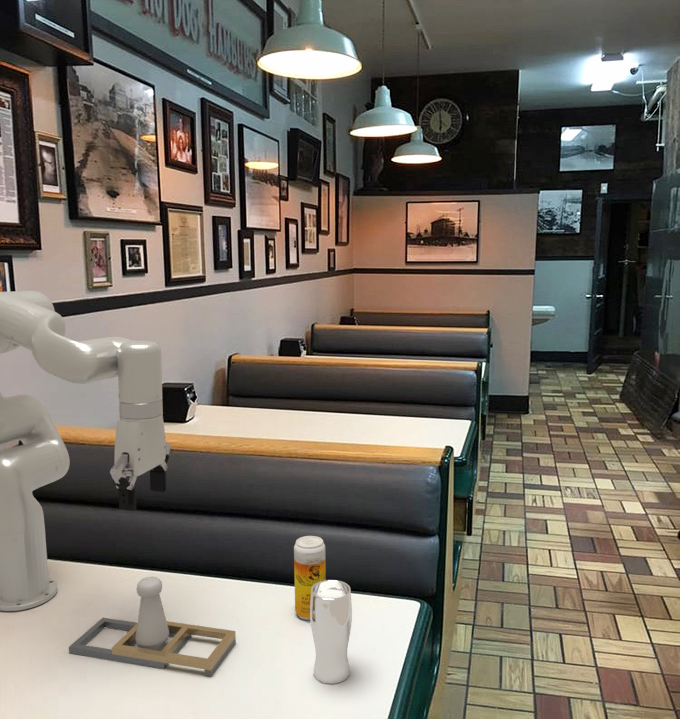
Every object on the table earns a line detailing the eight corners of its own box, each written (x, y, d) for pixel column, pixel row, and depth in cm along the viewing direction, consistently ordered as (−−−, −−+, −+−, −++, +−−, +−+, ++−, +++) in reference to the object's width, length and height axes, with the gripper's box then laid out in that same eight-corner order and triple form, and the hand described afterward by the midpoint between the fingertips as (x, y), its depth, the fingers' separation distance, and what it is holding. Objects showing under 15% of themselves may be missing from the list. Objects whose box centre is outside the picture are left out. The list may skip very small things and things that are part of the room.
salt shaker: (174, 639, 118) (171, 573, 116) (163, 658, 113) (159, 588, 111) (143, 638, 119) (139, 572, 117) (130, 656, 113) (126, 587, 111)
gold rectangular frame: (112, 660, 112) (111, 647, 112) (143, 629, 122) (143, 617, 121) (211, 677, 107) (210, 663, 107) (235, 643, 117) (235, 631, 117)
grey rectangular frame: (69, 653, 114) (68, 646, 114) (103, 623, 124) (102, 617, 124) (164, 669, 110) (163, 662, 109) (191, 636, 119) (191, 630, 119)
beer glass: (338, 691, 104) (337, 604, 101) (302, 677, 107) (301, 592, 105) (359, 668, 109) (359, 585, 107) (325, 655, 113) (324, 575, 111)
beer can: (302, 625, 123) (301, 550, 121) (290, 610, 128) (288, 538, 126) (331, 616, 126) (330, 544, 123) (317, 602, 131) (316, 532, 129)
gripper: (150, 398, 126) (152, 482, 128) (92, 418, 109) (96, 514, 112) (184, 401, 123) (185, 486, 126) (130, 422, 107) (133, 520, 110)
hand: (143, 499), depth 119 cm, fingers open, 9 cm apart
